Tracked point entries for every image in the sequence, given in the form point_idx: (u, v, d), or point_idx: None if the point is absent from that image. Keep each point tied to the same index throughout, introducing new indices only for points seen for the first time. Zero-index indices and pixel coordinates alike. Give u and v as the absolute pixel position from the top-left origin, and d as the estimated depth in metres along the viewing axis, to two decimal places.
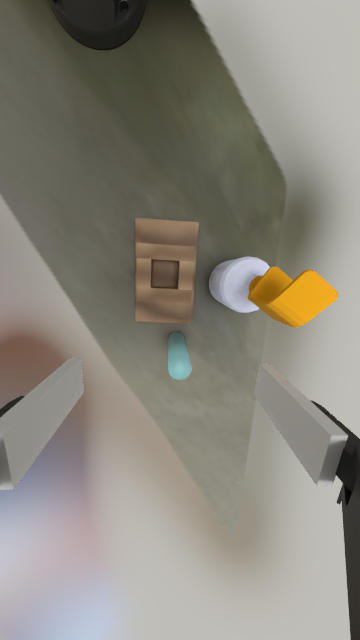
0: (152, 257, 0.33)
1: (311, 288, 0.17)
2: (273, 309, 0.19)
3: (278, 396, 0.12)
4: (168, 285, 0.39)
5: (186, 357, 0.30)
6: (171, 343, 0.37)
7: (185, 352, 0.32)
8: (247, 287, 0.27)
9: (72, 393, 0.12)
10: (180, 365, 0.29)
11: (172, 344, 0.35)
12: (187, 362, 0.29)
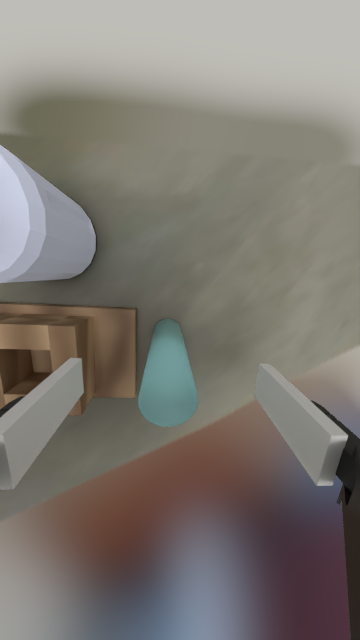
0: (0, 392, 0.19)
1: None
2: None
3: (278, 396, 0.12)
4: None
5: (145, 375, 0.12)
6: None
7: (148, 361, 0.14)
8: None
9: (72, 393, 0.12)
10: (157, 401, 0.11)
11: None
12: (148, 384, 0.11)
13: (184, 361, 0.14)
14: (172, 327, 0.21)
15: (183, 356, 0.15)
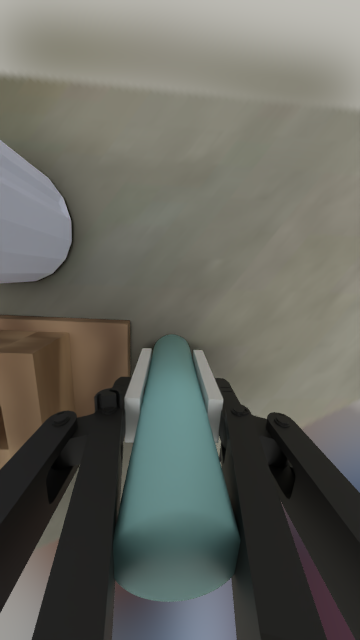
0: None
1: None
2: None
3: (197, 375, 0.14)
4: None
5: (130, 485, 0.06)
6: None
7: (140, 433, 0.08)
8: None
9: None
10: (153, 561, 0.05)
11: None
12: (132, 531, 0.05)
13: (205, 437, 0.07)
14: (179, 351, 0.15)
15: (201, 421, 0.08)
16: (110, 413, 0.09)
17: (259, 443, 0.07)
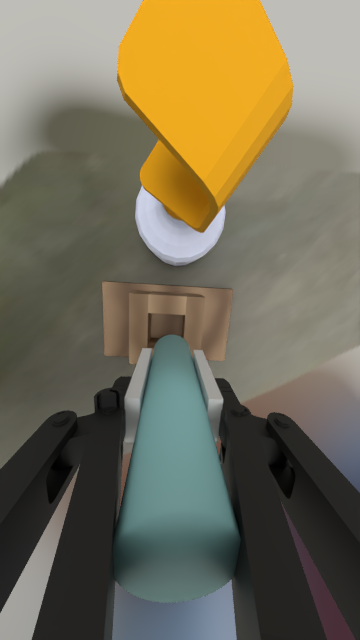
0: (145, 346, 0.27)
1: (175, 57, 0.05)
2: (233, 185, 0.07)
3: (197, 375, 0.14)
4: (180, 320, 0.30)
5: (130, 486, 0.06)
6: None
7: (140, 433, 0.08)
8: (182, 222, 0.16)
9: None
10: (154, 562, 0.05)
11: None
12: (133, 532, 0.05)
13: (206, 438, 0.07)
14: (179, 351, 0.15)
15: (202, 421, 0.08)
16: (110, 413, 0.09)
17: (259, 443, 0.07)
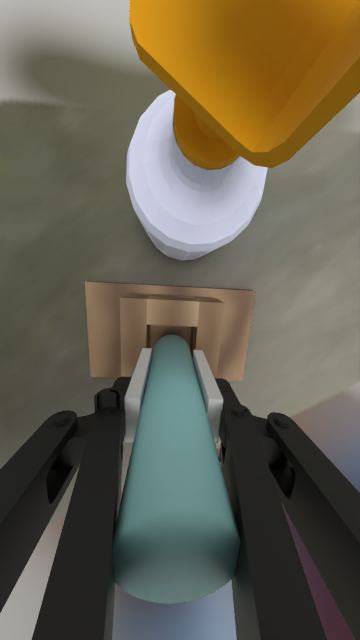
0: None
1: None
2: None
3: (197, 375, 0.14)
4: (188, 330, 0.24)
5: (129, 486, 0.06)
6: None
7: (139, 433, 0.08)
8: (208, 175, 0.09)
9: None
10: (153, 562, 0.05)
11: None
12: (132, 533, 0.05)
13: (205, 438, 0.07)
14: (179, 351, 0.15)
15: (201, 421, 0.08)
16: (110, 413, 0.09)
17: (259, 443, 0.07)
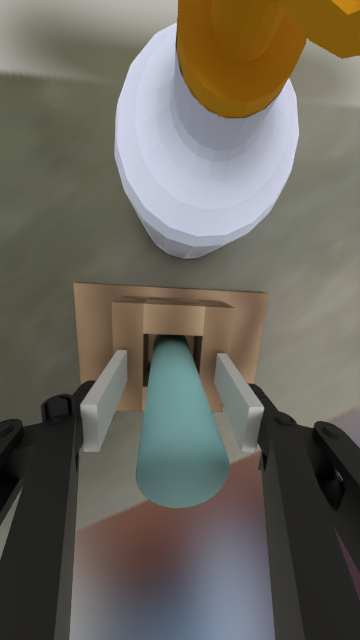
0: (139, 384, 0.17)
1: None
2: None
3: (225, 380, 0.13)
4: (191, 338, 0.21)
5: (147, 427, 0.08)
6: None
7: (150, 398, 0.10)
8: (227, 130, 0.06)
9: (122, 380, 0.14)
10: (167, 473, 0.07)
11: None
12: (153, 450, 0.07)
13: (202, 398, 0.10)
14: (178, 340, 0.17)
15: (199, 388, 0.10)
16: (61, 421, 0.08)
17: (306, 456, 0.07)
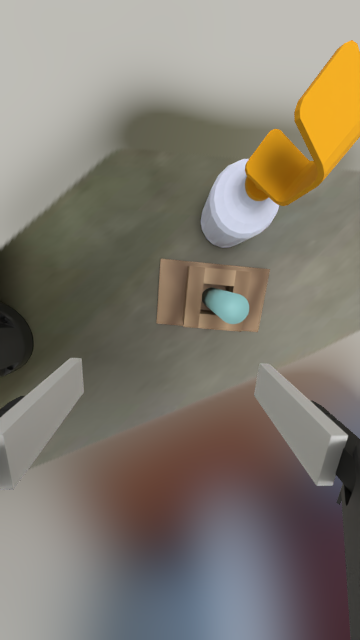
0: (198, 312, 0.32)
1: (325, 102, 0.10)
2: (332, 168, 0.13)
3: (278, 396, 0.12)
4: None
5: (220, 298, 0.23)
6: (209, 308, 0.30)
7: (216, 296, 0.25)
8: (256, 202, 0.21)
9: (72, 393, 0.12)
10: (228, 308, 0.22)
11: (210, 308, 0.29)
12: (225, 298, 0.22)
13: None
14: None
15: None
16: None
17: None
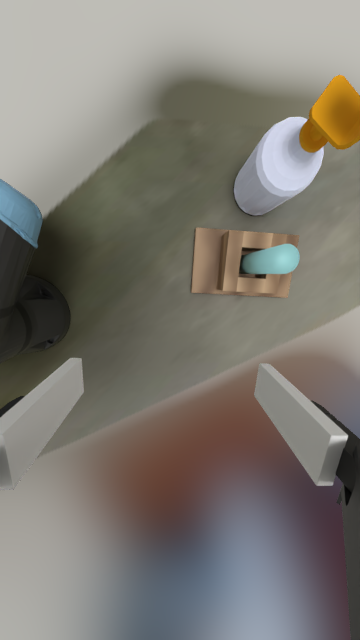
0: (236, 275, 0.33)
1: None
2: None
3: (278, 396, 0.12)
4: None
5: (270, 250, 0.25)
6: (249, 270, 0.32)
7: (263, 252, 0.27)
8: (307, 155, 0.23)
9: (72, 393, 0.12)
10: (280, 258, 0.24)
11: (251, 268, 0.30)
12: (277, 249, 0.24)
13: None
14: None
15: None
16: None
17: None
